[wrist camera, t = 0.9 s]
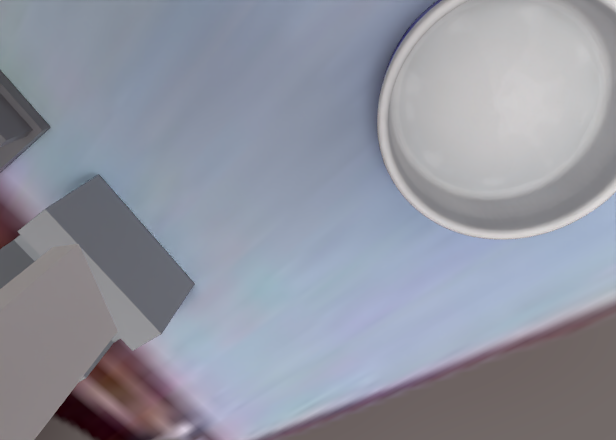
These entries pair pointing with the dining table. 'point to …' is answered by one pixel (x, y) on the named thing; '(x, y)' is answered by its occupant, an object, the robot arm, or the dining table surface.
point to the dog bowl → (503, 114)
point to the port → (107, 260)
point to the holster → (16, 123)
